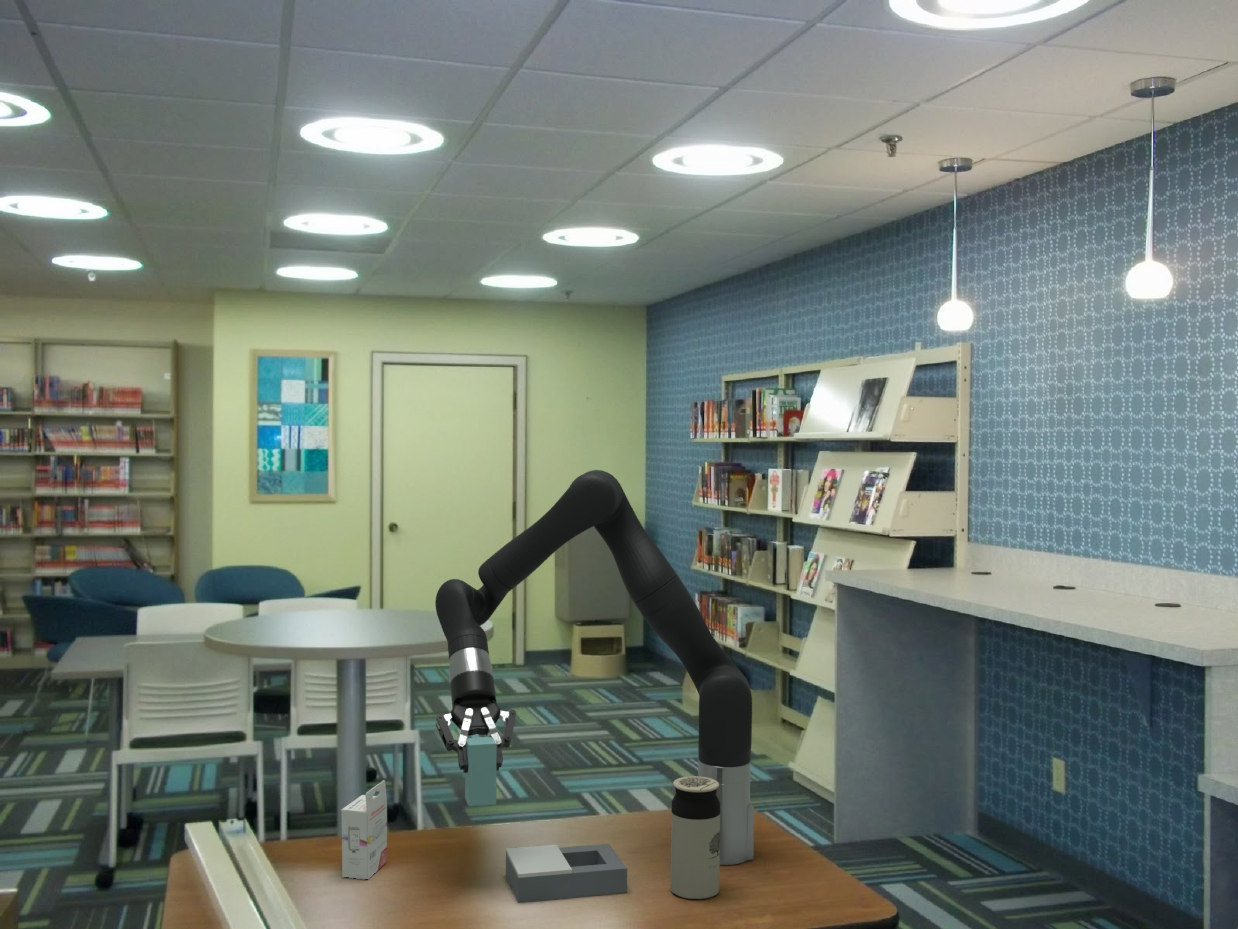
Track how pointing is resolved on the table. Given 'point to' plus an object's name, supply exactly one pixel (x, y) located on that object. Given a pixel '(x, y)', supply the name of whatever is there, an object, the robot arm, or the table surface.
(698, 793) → the travel mug
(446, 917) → the table surface
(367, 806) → the ink cartridge box
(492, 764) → the teal peg
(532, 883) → the rail
